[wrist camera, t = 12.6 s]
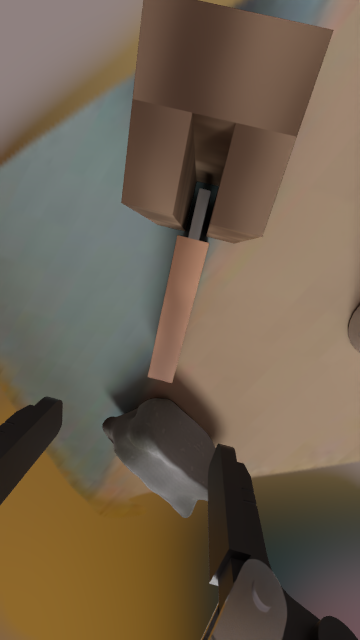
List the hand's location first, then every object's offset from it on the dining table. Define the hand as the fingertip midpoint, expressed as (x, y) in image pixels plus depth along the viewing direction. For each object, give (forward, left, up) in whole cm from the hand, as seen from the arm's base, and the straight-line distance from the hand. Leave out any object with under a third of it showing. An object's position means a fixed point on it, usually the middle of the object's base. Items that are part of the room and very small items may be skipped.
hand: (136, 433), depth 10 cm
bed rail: (0, -4, -17) cm, 18 cm away
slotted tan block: (0, -15, -17) cm, 23 cm away
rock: (-3, +20, -18) cm, 27 cm away
